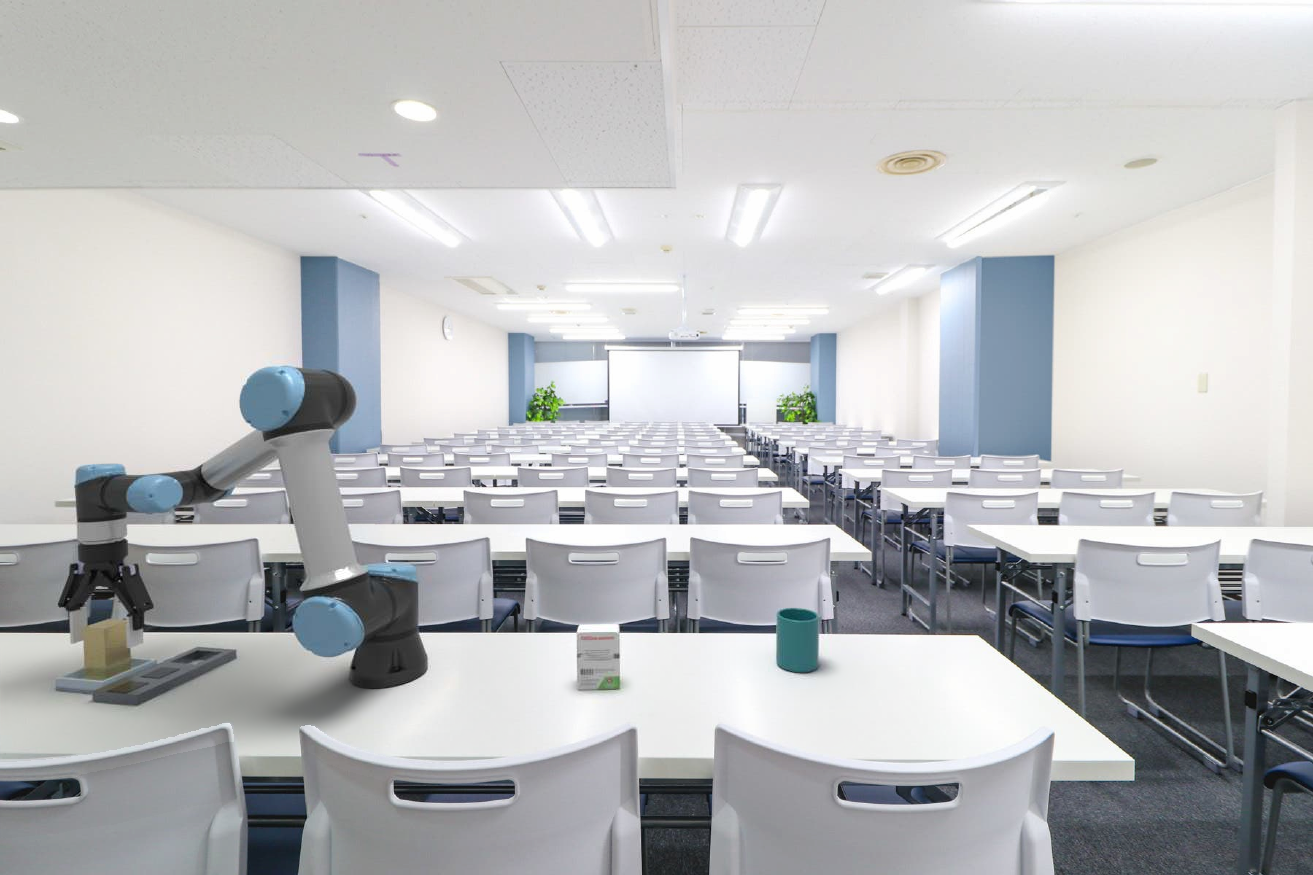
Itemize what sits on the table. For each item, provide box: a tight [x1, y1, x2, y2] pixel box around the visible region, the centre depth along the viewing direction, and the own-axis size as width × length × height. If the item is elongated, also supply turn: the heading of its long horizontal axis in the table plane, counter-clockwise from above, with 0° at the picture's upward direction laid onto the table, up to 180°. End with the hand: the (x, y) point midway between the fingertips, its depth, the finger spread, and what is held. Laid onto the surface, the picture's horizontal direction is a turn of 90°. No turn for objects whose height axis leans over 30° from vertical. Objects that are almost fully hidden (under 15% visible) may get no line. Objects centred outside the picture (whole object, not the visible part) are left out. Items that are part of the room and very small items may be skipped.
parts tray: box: [54, 657, 158, 695], centre depth 124 cm, size 11×11×2 cm
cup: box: [775, 607, 820, 674], centre depth 134 cm, size 9×12×11 cm
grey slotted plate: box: [92, 646, 238, 707], centre depth 125 cm, size 10×22×2 cm, turn 171°
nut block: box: [82, 618, 132, 681], centre depth 124 cm, size 5×5×11 cm
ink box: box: [576, 623, 621, 691], centre depth 123 cm, size 9×5×12 cm, turn 93°
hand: (107, 643), depth 124 cm, fingers open, 13 cm apart
